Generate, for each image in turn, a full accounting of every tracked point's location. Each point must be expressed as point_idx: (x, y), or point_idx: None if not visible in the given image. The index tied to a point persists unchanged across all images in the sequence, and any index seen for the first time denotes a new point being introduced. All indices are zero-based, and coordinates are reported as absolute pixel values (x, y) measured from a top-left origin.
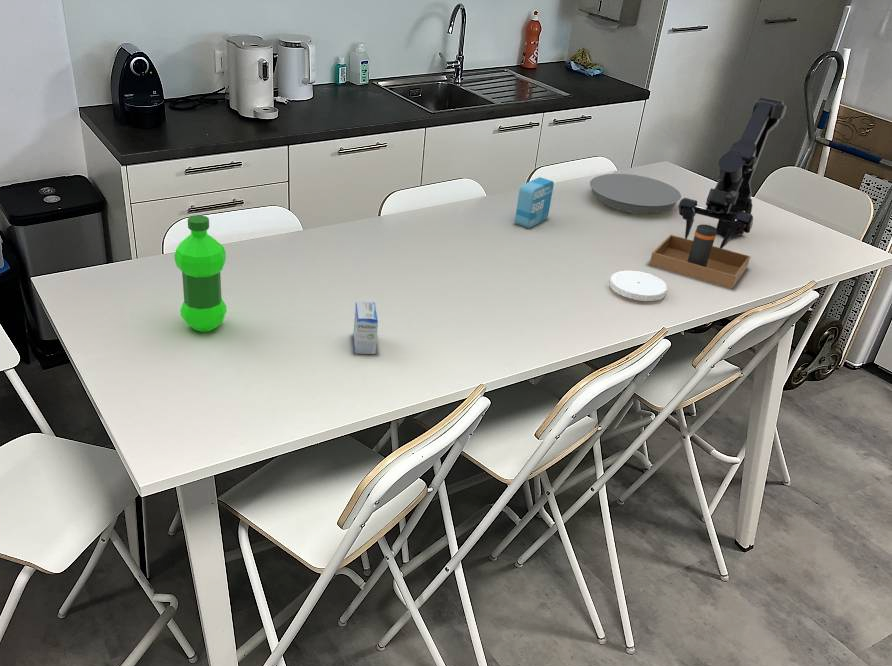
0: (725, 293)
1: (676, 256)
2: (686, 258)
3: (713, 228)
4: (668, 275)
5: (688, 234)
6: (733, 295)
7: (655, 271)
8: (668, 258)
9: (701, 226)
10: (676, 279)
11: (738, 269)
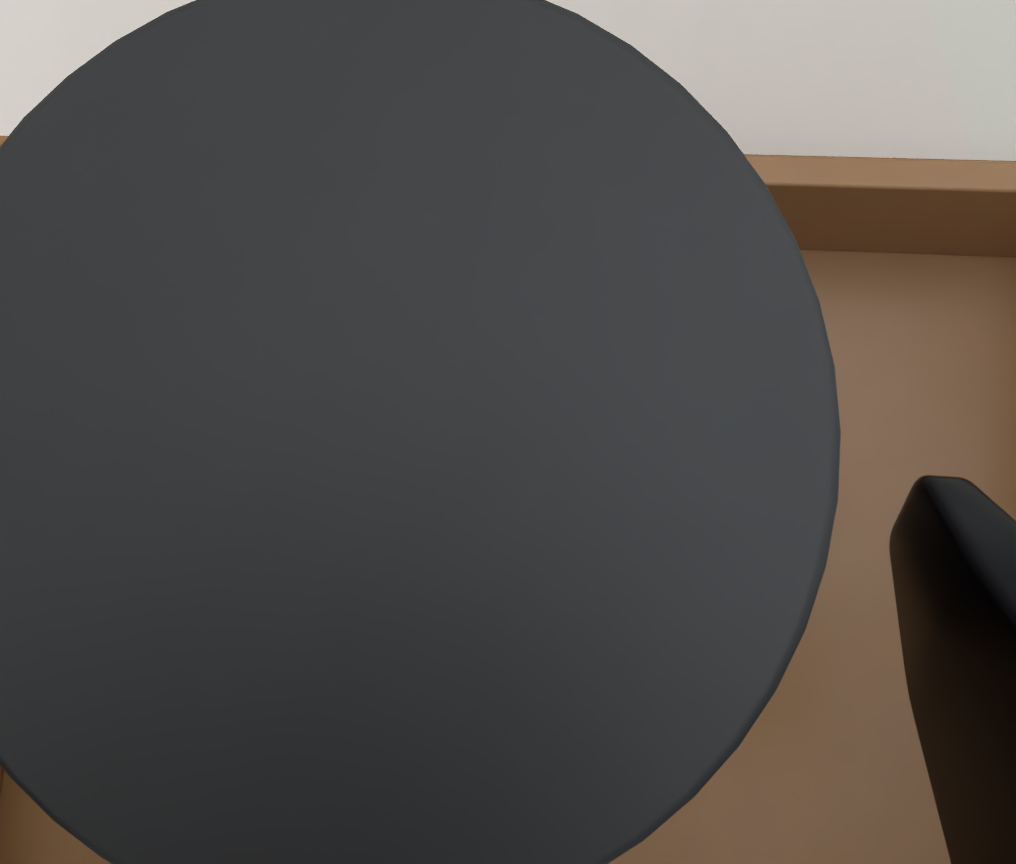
0: (87, 61)
1: (852, 767)
2: (710, 784)
3: (62, 595)
4: (780, 108)
5: (930, 643)
6: (4, 69)
7: (963, 118)
8: (937, 168)
9: (637, 480)
10: (662, 58)
11: (49, 839)
